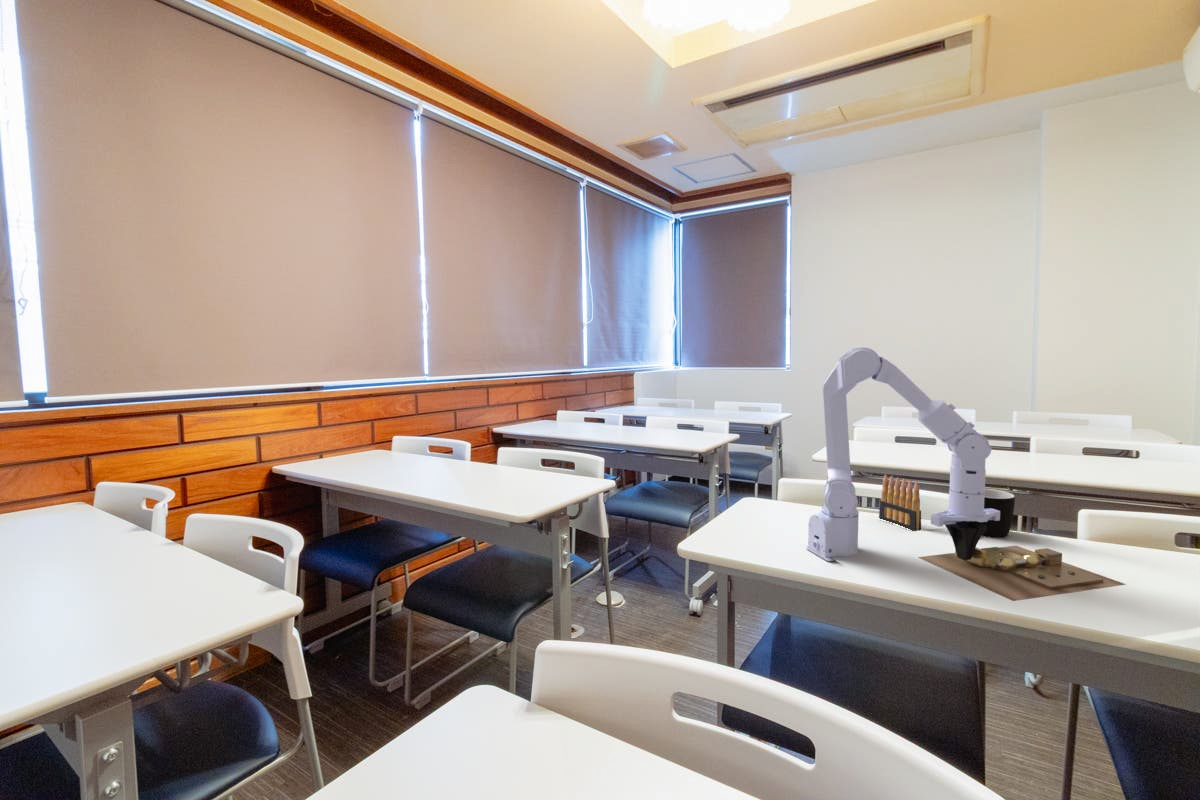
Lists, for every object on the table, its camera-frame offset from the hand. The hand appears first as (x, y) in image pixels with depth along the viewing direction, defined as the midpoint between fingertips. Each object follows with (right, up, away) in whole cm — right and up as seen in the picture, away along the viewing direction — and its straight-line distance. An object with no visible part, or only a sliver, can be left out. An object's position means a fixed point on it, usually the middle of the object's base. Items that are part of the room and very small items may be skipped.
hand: (963, 557), depth 105 cm
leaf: (+9, -1, +1) cm, 9 cm away
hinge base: (+12, -1, -6) cm, 13 cm away
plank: (+7, -2, -3) cm, 8 cm away
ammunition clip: (+2, 0, +26) cm, 26 cm away
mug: (+16, 0, +17) cm, 24 cm away
